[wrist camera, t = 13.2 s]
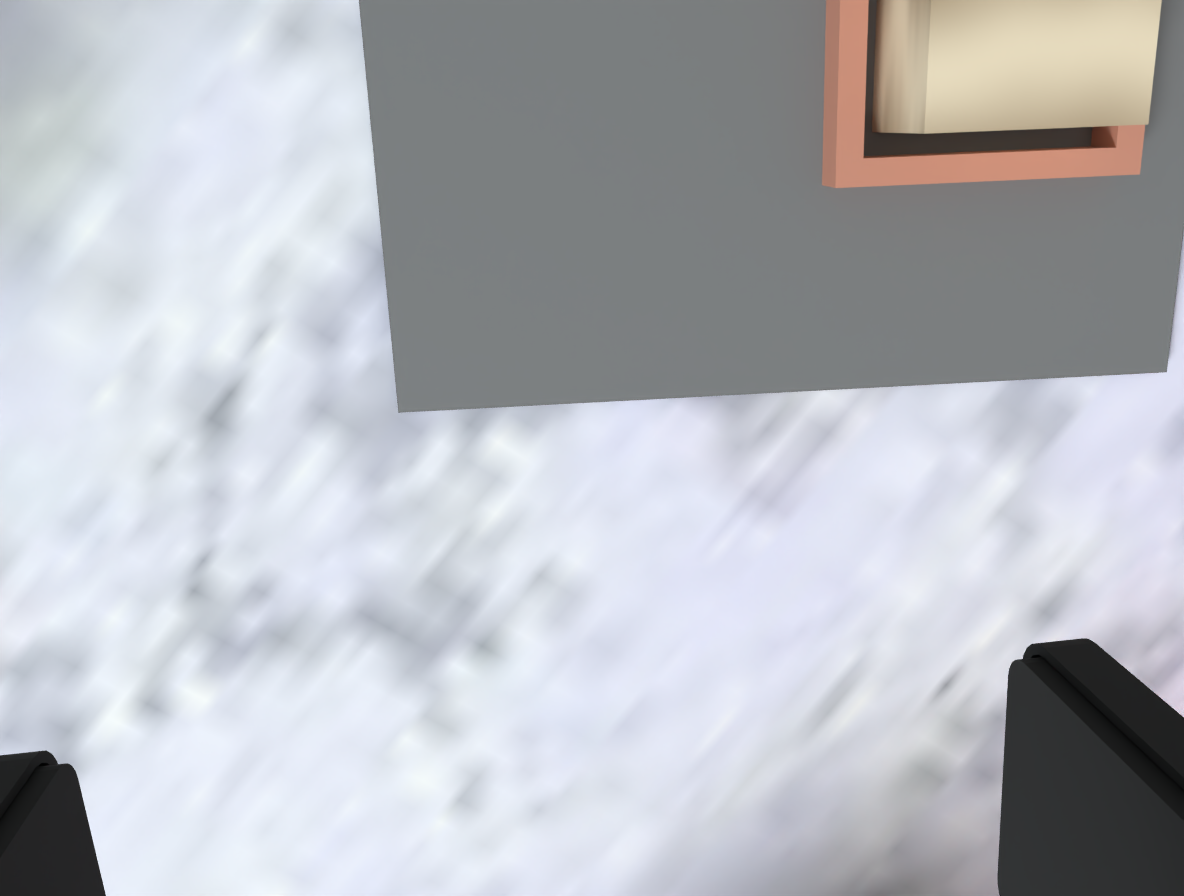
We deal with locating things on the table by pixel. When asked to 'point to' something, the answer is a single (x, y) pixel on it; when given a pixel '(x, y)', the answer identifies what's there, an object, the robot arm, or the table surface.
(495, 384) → the mat
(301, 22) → the table surface
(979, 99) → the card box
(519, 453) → the table surface
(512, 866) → the table surface
